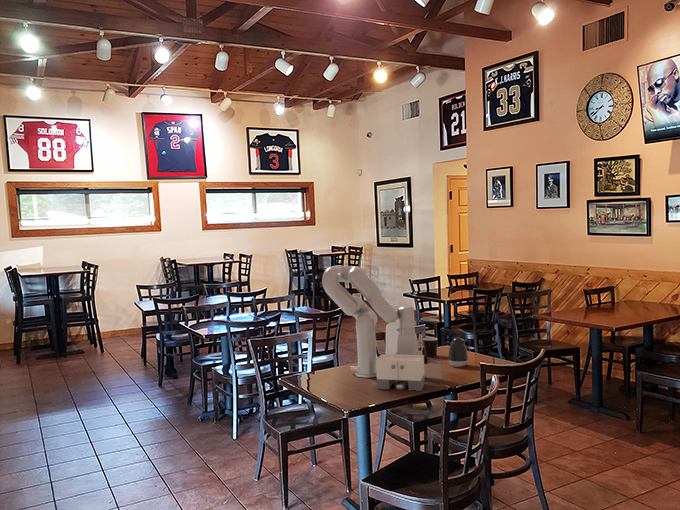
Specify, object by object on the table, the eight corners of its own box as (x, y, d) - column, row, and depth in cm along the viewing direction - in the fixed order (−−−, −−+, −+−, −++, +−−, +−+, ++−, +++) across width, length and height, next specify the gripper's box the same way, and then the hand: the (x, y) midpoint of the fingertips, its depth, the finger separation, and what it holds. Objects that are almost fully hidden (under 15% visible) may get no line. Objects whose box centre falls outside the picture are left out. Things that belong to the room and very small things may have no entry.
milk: (389, 354, 315) (388, 310, 314) (409, 355, 311) (407, 310, 310) (385, 359, 303) (383, 313, 302) (405, 359, 300) (403, 313, 299)
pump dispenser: (465, 369, 273) (464, 339, 273) (445, 367, 279) (444, 338, 278) (471, 364, 282) (470, 336, 281) (452, 363, 287) (451, 335, 287)
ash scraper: (395, 385, 246) (394, 364, 246) (403, 371, 269) (402, 352, 269) (408, 386, 245) (407, 365, 244) (415, 372, 267) (414, 352, 267)
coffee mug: (428, 354, 312) (427, 337, 312) (441, 355, 306) (440, 338, 306) (417, 357, 303) (417, 340, 303) (431, 359, 297) (430, 341, 297)
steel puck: (394, 389, 242) (393, 384, 242) (396, 386, 246) (396, 382, 246) (404, 389, 240) (404, 385, 240) (406, 386, 245) (406, 382, 245)
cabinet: (376, 389, 242) (375, 360, 242) (382, 381, 255) (381, 353, 254) (420, 391, 236) (419, 361, 236) (424, 383, 249) (423, 355, 248)
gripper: (390, 332, 263) (391, 369, 264) (421, 332, 259) (422, 370, 259) (393, 329, 270) (394, 365, 271) (423, 330, 266) (424, 366, 266)
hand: (408, 367), depth 265 cm, fingers closed on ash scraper, 1 cm apart
